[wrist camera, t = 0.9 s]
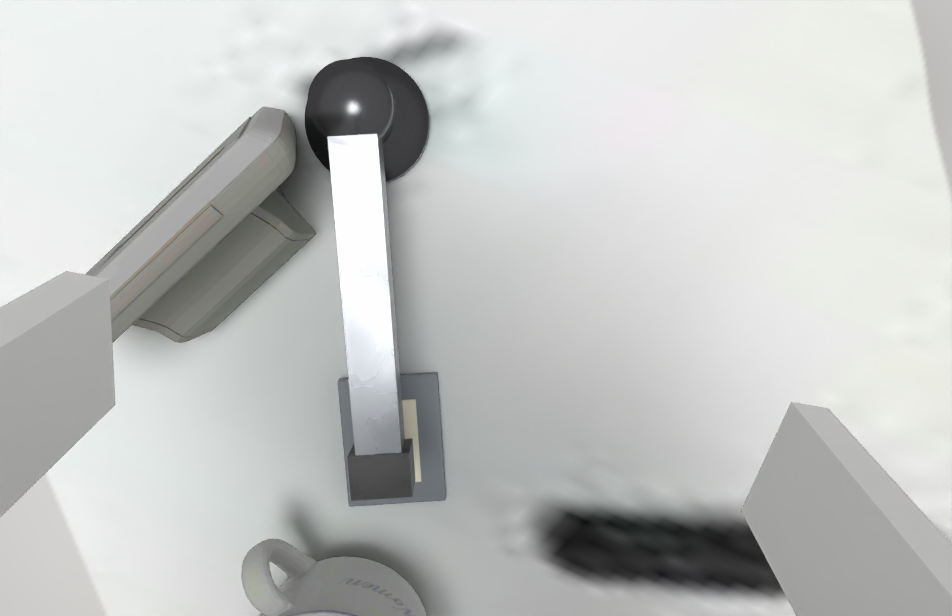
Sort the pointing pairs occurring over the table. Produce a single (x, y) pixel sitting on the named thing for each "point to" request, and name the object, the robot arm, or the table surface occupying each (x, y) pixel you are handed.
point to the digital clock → (209, 236)
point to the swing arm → (365, 272)
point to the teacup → (325, 585)
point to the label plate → (409, 436)
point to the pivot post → (407, 129)
